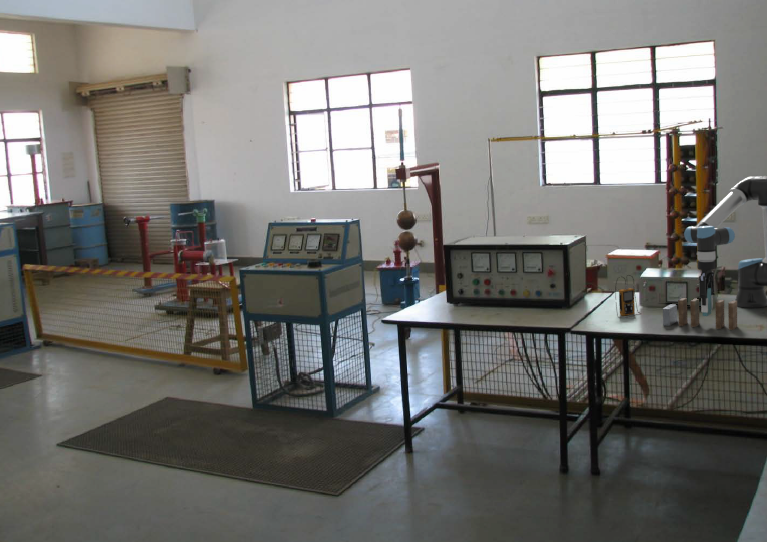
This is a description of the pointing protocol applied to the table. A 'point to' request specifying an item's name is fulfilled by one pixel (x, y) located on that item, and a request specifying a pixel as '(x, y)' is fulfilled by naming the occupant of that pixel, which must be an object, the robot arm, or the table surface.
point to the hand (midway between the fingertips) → (707, 310)
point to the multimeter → (626, 301)
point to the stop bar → (669, 315)
